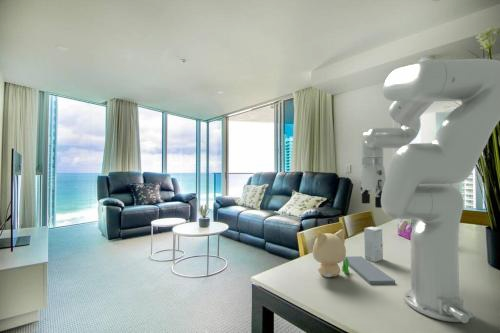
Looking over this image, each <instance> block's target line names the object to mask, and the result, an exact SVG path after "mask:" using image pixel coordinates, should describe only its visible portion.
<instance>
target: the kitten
mask: <svg viewBox="0 0 500 333" xmlns="http://www.w3.org/2000/svg"><path fill="white" fill-rule="evenodd" d="M345 234H346V233H345V229H344V228H341V229H339V230H338V231H337V232H334V233H327V232H326V233H323V232H322V231H319V230H318V232H317V237H316V238H315V240H314V241H313V244H312V245H313V246H312V256H313V259H314V260H315V261H316V262H318V263H320V265H319V266H318V269H317V270H318V274H320V275H322V276H323V277H326V278H331V277H337V276H339V275H340V274H341V269H342V271H343V272H344V274H345V275H349V273H350V271H349V267H350V266H349V261H348V259H347V258H346V260H345V262H344V261H343V260H344V258H345V257H347V256H346V255H347V250H346V245H345V244H346V240H345ZM340 263H342V268H341V269H340V266H339V264H340Z"/></svg>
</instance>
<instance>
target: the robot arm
mask: <svg viewBox="0 0 500 333" xmlns="http://www.w3.org/2000/svg"><path fill="white" fill-rule="evenodd" d="M382 90H383V91H382V92H383V95H384V98H385V99H386V100H388V101H391V102H392V103H391V104H390V105H389V109H388V113H389V116H390V117H391V119H392V120H393V121H394V122H396V123H397V124H400V125H402V126H401V127H373V128H370V129H368V131H365V132H363V133H362V136H361V168H362V169H361V179H360V182H359V186H360V193H361V204H370V203H371V202H370V201H371V194H370V192H374V194H375V197H374V198H375V199H374V200H375V201H374V207H375V208H376V209H377V208H378V209H379V208H381V209H382V211H383V212H384V214H385V215H387V217H389V218H392V219H397V220H398V219H417V222H416V223H415V225H414V227H413V229H412V232H411V240H410V279H411V280H410V282H411V283H410V284H411V286H410V288H411V290H410V289H409V290H407V291H405V293H404V300H405V303H406V304H408V306H410V307H411V308H412V309H413V310H415V311H417V312H419V313H421V314H422V315H425V316H427V317H429V318H432V319H436V320H439V321H443V322H452V323H463V324H467V323H469V321H470V319H473V318H474V313H473V312H472V311H471V310H470V309H468V308H467V307H466V306H465V305H464V299H463V298H462V297H461V296H460V272H459V271H460V270H459V269H460V268H459V267H460V264H459V262H460V261H459V259H460V258H459V249H460V248H459V247H460V246H459V245H460V244H459V233H460V224H461V219H462V214H463V210H464V198H463V195H462V193H461V192H460V191H459V189H458V188H456V187H455V186H453V185H452V184H458V183H459V184H460V183H463V182H464V181H466V180H467V179H468V178H469V177H470V176H471V174H472V173H473V171H474V169H475V167H476V165H477V163H478V161H479V159H480V158H481V155H482V154H483V152H484V149H485V148H486V146H487V143H488V141H489V139H490V137H491V135H492V133H493V132H494V129H495V128H496V126H497V125H498V123H499V122H500V60H496V59H491V58H490V59H488V58H462V59H435V60H424V61H419V62H415V63H410V64H408V65H403V66H400V67H397V68H395V69H394V70H393V71H391V72H390V73H389V74H388V75H387V77H386V79H385V81H384V84H383V88H382ZM457 101H458V102H459V101H460V102H461V104H460V105H459V106H457V107H456V108H454V109H453V110H452V111H450V113H449V114H448V115H447V116H445V118H444V119H443V120H442V121H441V123H440V125H439V128H438V130H437V133H436V135H435V136H434V139H433V140H432V141H430V142H427V143H426V142H425V143H424V142H421V143H417V142H416V143H412V141H414V140H416V138H417V137H418V135H419V133H420V129H421V119H420V117H421V116H422V115H423V114H424V113H425V112H426V111H427V110H428V109H429V108H430V107H431V106H432V105H433V104H434V102H457ZM384 149H397V150H396V152H395V153H394V154H393V156H392V158H391V161H390V164H389V167H388V171H387V174H386V170H385V166H384Z"/></svg>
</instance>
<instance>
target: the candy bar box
mask: <svg viewBox="0 0 500 333" xmlns="http://www.w3.org/2000/svg"><path fill="white" fill-rule="evenodd" d="M416 222H417V219H397V235H398V236H400V237H403V238H404V237H405V238H404V239H407V240H409V241H411V232H412V229H413V227H414V225H415V223H416Z"/></svg>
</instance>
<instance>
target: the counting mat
mask: <svg viewBox="0 0 500 333" xmlns="http://www.w3.org/2000/svg"><path fill="white" fill-rule="evenodd" d="M346 258H347V259H348V261H349V266H348V267H349V268H350V269H352V270H353V271H354V272H355V273H356V274H357V275H358V276H360V277H361V278H362V279H363V280H364V281H365V282H366V283H367V284H369V285H396V280H395V279H394V278H392V277H391V276H389V275H388V274H387V273H385V272H384V271H382V270H381V269H380V268H378V267H377V266H375V265H374V264H372V263H371V261H369V260H367V259H365V257H363V256H360V255H358V256H345V258H344V260H343V261H344V262H345V260H346ZM343 261H342V262H343Z"/></svg>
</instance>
